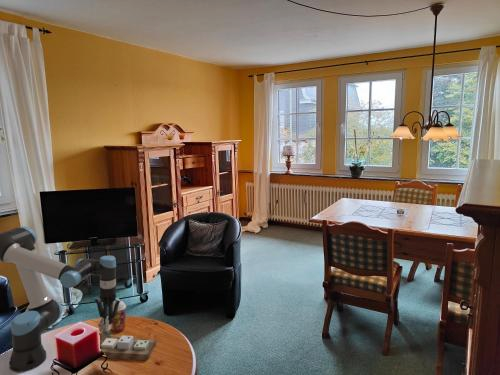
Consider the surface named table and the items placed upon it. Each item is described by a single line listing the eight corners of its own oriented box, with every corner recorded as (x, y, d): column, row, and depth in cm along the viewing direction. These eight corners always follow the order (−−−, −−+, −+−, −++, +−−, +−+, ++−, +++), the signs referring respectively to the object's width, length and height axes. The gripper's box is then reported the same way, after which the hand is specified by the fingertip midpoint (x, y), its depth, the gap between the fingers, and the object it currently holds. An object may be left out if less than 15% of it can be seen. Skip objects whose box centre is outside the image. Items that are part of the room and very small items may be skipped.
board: (93, 356, 170) (92, 351, 170) (105, 341, 183) (105, 336, 183) (147, 360, 169) (147, 354, 168) (156, 344, 182) (156, 339, 181)
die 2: (117, 349, 173) (117, 341, 172) (122, 342, 179) (122, 335, 178) (128, 350, 173) (128, 342, 172) (133, 343, 178) (133, 335, 178)
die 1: (101, 352, 174) (101, 344, 173) (106, 345, 179) (106, 337, 179) (112, 353, 173) (112, 345, 173) (117, 346, 179) (117, 338, 179)
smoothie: (112, 326, 199) (112, 293, 196) (127, 325, 200) (127, 293, 198) (109, 334, 191) (108, 300, 188) (125, 332, 192) (124, 299, 189)
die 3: (133, 354, 173) (133, 346, 172) (138, 347, 179) (138, 339, 178) (145, 355, 172) (145, 347, 172) (149, 348, 178) (149, 340, 178)
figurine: (99, 343, 181) (98, 317, 179) (96, 336, 188) (95, 311, 186) (115, 339, 186) (114, 313, 184) (112, 332, 192) (111, 307, 190)
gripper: (91, 288, 168) (92, 332, 171) (117, 290, 168) (117, 334, 171) (99, 282, 176) (99, 324, 179) (123, 284, 175) (123, 326, 178)
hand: (108, 329), depth 175 cm, fingers closed
